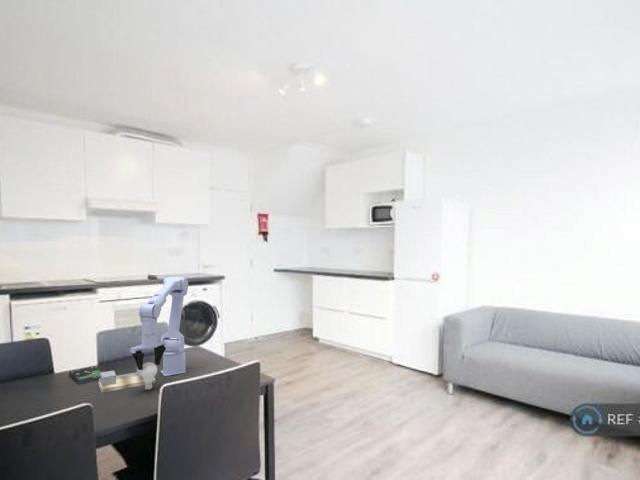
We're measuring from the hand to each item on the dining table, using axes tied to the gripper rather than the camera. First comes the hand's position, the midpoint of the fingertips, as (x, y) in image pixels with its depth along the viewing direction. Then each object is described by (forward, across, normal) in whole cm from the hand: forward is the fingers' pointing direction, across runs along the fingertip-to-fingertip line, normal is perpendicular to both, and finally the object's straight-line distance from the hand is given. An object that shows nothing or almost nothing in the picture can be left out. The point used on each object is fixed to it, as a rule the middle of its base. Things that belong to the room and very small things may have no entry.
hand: (148, 367), depth 155 cm
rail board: (+9, +1, -13) cm, 16 cm away
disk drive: (+10, +7, -35) cm, 37 cm away
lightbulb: (+9, 0, 0) cm, 9 cm away
